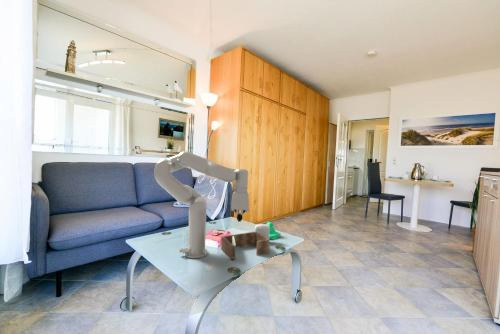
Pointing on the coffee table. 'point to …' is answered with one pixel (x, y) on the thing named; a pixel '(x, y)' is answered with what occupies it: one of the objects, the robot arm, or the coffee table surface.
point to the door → (234, 247)
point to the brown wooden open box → (245, 243)
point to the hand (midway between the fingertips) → (239, 220)
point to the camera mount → (272, 231)
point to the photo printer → (263, 230)
